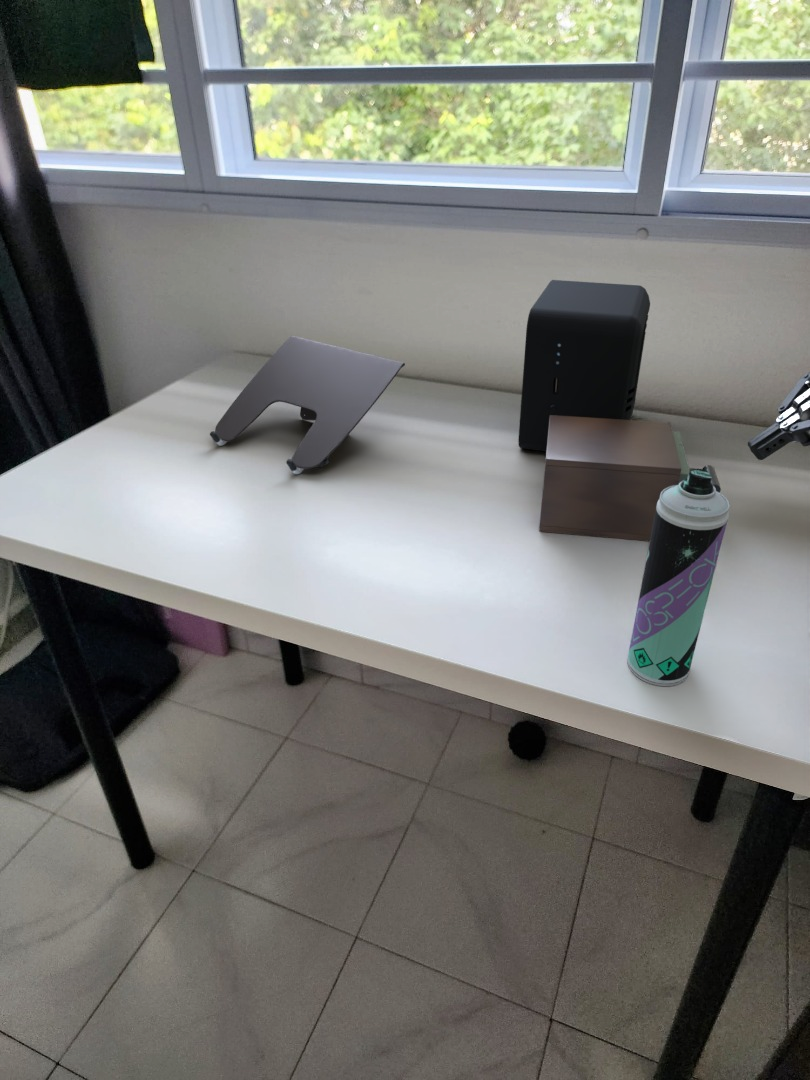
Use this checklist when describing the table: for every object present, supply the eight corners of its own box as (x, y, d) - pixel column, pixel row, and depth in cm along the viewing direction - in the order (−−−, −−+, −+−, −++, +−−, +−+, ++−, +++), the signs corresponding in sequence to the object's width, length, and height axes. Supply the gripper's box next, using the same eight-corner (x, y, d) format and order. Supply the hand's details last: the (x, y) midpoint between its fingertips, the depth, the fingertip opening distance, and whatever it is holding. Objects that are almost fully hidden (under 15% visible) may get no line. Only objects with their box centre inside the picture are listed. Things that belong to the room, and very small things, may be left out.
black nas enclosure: (621, 467, 102) (644, 322, 92) (516, 454, 107) (527, 312, 96) (633, 412, 119) (654, 282, 108) (542, 402, 123) (553, 276, 112)
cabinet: (657, 490, 97) (670, 422, 92) (666, 542, 87) (681, 468, 81) (543, 482, 99) (549, 414, 94) (538, 531, 89) (545, 458, 84)
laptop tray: (223, 468, 117) (193, 428, 110) (308, 367, 125) (285, 324, 118) (332, 511, 105) (307, 470, 98) (418, 397, 114) (400, 351, 106)
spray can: (614, 656, 70) (649, 465, 59) (660, 639, 72) (702, 452, 61) (654, 693, 66) (698, 495, 55) (702, 675, 68) (753, 480, 57)
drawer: (703, 490, 95) (716, 433, 91) (716, 537, 86) (731, 477, 81) (561, 479, 98) (567, 424, 94) (559, 524, 89) (565, 465, 84)
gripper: (865, 304, 80) (721, 406, 89) (916, 343, 69) (746, 455, 78) (901, 354, 82) (758, 449, 91) (957, 399, 71) (787, 503, 80)
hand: (753, 452), depth 84 cm, fingers closed
